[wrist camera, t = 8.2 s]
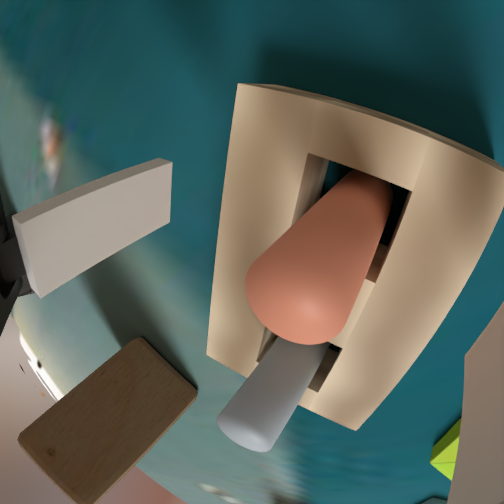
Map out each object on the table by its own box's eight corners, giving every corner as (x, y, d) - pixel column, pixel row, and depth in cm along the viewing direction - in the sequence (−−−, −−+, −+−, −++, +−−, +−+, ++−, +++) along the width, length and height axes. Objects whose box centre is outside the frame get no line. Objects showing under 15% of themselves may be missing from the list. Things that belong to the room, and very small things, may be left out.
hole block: (235, 323, 26) (206, 354, 23) (277, 84, 16) (238, 83, 13) (371, 389, 22) (355, 430, 19) (494, 160, 12) (514, 178, 9)
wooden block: (140, 330, 35) (11, 437, 20) (203, 391, 34) (86, 514, 19) (127, 359, 41) (27, 446, 26) (179, 409, 40) (85, 505, 25)
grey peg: (294, 323, 22) (214, 430, 15) (304, 291, 21) (218, 404, 13) (331, 341, 21) (265, 458, 14) (346, 310, 20) (277, 437, 12)
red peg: (332, 209, 17) (238, 315, 10) (347, 159, 16) (254, 231, 8) (382, 230, 16) (326, 359, 9) (400, 180, 15) (366, 280, 7)
